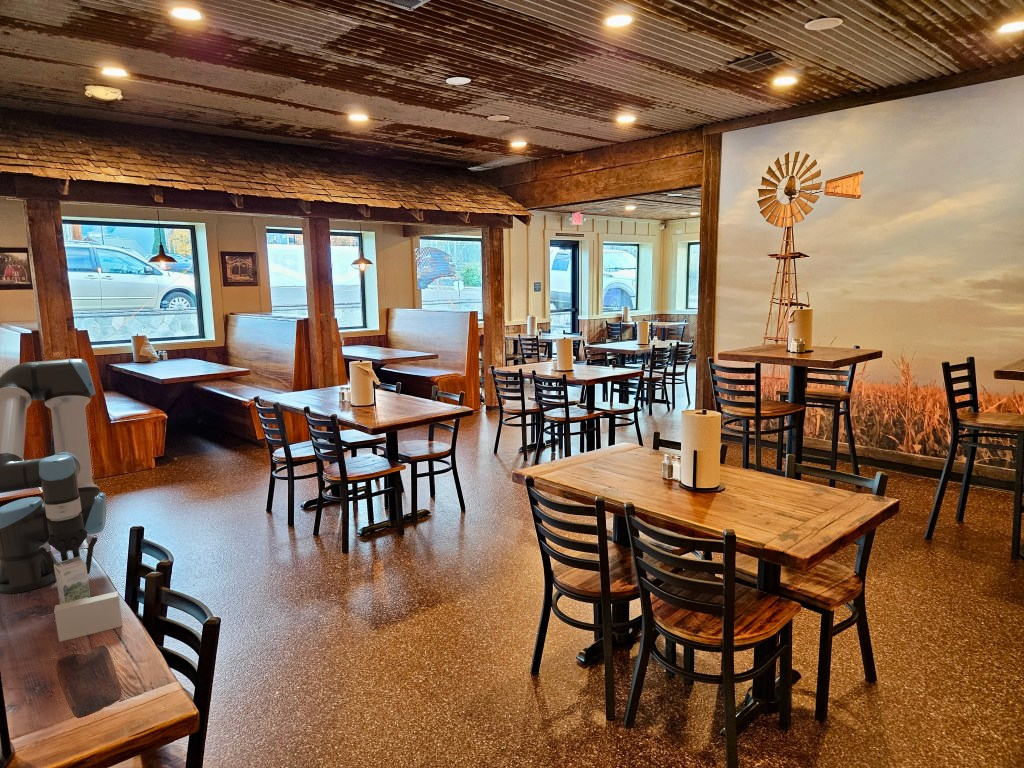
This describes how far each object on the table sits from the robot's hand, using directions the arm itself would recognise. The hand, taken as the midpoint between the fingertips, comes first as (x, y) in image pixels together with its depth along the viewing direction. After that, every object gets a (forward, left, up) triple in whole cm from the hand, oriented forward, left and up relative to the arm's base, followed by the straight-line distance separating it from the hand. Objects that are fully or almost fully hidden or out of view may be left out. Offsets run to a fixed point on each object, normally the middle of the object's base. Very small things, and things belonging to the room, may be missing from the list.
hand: (77, 601), depth 174 cm
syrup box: (+5, 0, -2) cm, 5 cm away
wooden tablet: (+39, +4, -2) cm, 39 cm away
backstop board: (+16, +4, -2) cm, 16 cm away
